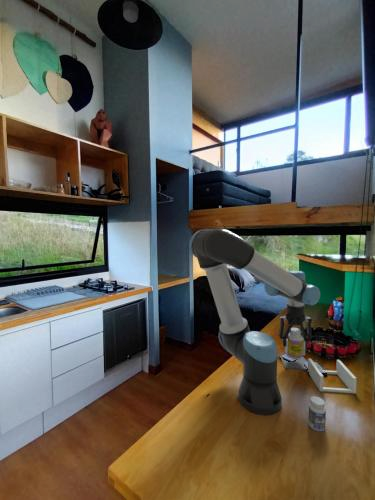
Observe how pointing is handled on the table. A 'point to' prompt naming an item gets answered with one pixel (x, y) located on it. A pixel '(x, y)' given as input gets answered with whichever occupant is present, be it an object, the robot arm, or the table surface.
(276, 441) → the table surface
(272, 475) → the table surface
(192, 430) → the table surface
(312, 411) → the pill bottle
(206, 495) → the table surface
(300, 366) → the trivet
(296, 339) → the supplement bottle
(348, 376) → the holder
